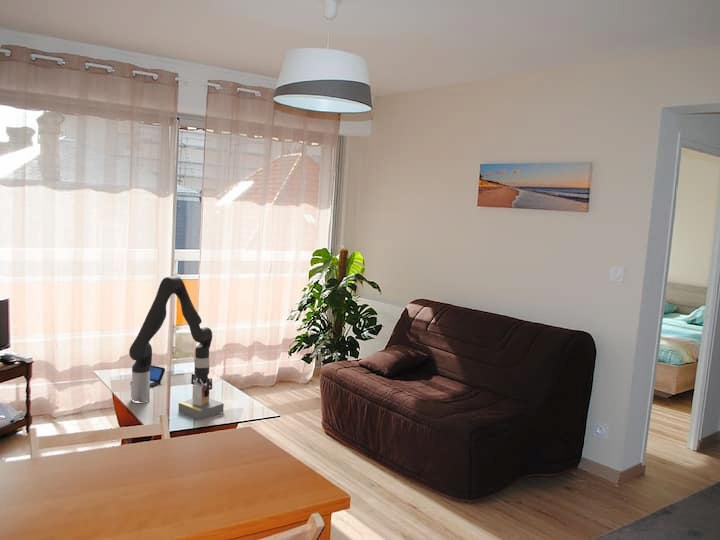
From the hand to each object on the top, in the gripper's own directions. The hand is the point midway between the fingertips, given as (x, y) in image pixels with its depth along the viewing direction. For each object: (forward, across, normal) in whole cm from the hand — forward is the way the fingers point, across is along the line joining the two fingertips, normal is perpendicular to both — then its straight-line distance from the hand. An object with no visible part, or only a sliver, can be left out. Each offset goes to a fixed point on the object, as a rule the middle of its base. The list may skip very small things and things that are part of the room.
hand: (201, 394), depth 322 cm
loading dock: (+10, 0, 0) cm, 10 cm away
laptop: (+10, -60, +8) cm, 62 cm away
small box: (+5, 0, 0) cm, 5 cm away
